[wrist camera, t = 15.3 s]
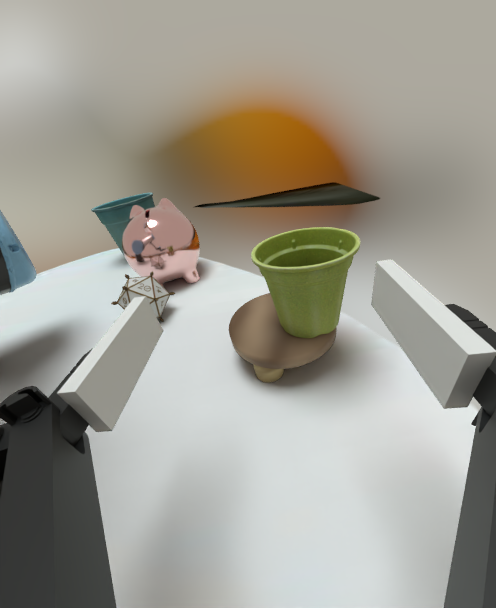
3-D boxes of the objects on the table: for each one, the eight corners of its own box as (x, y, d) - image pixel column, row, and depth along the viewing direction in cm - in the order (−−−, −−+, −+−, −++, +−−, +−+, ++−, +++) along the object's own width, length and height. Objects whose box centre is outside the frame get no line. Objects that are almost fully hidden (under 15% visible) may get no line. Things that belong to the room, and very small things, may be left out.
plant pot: (249, 339, 25) (231, 264, 21) (285, 292, 31) (277, 227, 27) (342, 363, 20) (345, 273, 16) (362, 302, 27) (369, 225, 22)
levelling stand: (232, 393, 25) (222, 364, 23) (240, 323, 35) (233, 298, 33) (350, 383, 24) (352, 350, 21) (323, 312, 34) (322, 285, 31)
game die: (171, 327, 45) (189, 279, 42) (142, 345, 37) (161, 287, 34) (131, 305, 46) (145, 257, 43) (94, 318, 38) (109, 260, 34)
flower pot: (156, 264, 65) (129, 202, 56) (108, 269, 69) (76, 212, 61) (181, 242, 78) (163, 189, 69) (140, 248, 82) (117, 198, 74)
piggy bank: (204, 255, 64) (184, 190, 55) (212, 283, 49) (186, 200, 40) (147, 270, 62) (117, 207, 53) (137, 305, 47) (93, 224, 38)
